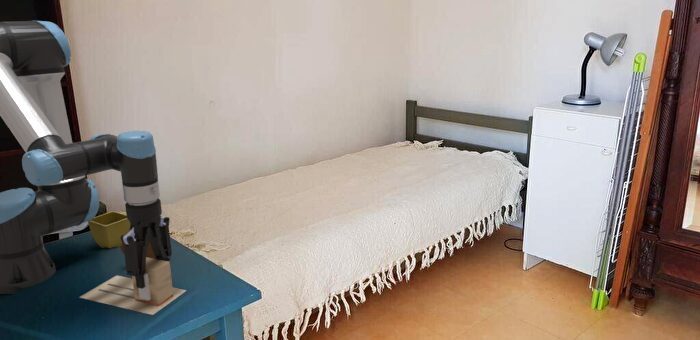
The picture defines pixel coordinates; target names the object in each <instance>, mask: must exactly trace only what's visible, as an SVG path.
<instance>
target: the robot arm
mask: <svg viewBox="0 0 700 340" xmlns="http://www.w3.org/2000/svg"><path fill="white" fill-rule="evenodd" d="M66 36H67V35H65V33H64V32H63V30H62V29H61V27H59V25H58V24H56V23H54V22H51V21H46V20H45V21H42V20H34V19H33V20H25V21H24V20H18V21H17V20H16V21H15V20H14V21H0V117H1V119H2V120H3V122H4V123H5V125H6V126H7V128H9V130H10V131H11V133H12V134H13V136H14V137H15V139H16V140H17V142H18V143H19V145H20V146H21V148H22V149H23V151H24V152H25V153H24V154H23V155H22V159H21V165H22V170H23V172H24V174H25V175H24V176H25V178H26V180H27V181H28V182H29V183H30V184H31V185H33V186H36V187H37V190H36V191H34V190H33V189H32V188H29V187H18V188H12V189H9V190H5V191H1V192H0V295H12V294H15V293H17V292H19V291H21V290H23V289H26V288H30V287H34V286H37V285H38V284H41V283H43V282H45V281H47V280H49V279H50V278H51V277H53V275H54V274H55V273H56V272H57V270H56V269H57V268H56V265H55V262H54V261H53V260H52V258H51V256H50V255H49V253H48V252H47V250H46V248H45V245H44V240H43V239H44V238H43V237H44V236H48V235H51V234H53V233H56V232H57V233H58V232H60V231H62V230H63V231H64V230H66V229H69V228H72V227H78V226H81V225H82V224H85V223H88V221H90V220H92V219H93V218H94V217H97V216H96V215H97V214H98V211H99V207H100V195H99V192H98V188H96V184H95V183H94V182H93V181H92V180H91V179H89V178H86V176H90V175H94V174H99V173H101V172H102V173H103V172H105V171H110V170H111V171H112V170H114V171H117V172H120V176H121V181H122V190H123V192H122V193H123V199H124V202H125V204H124V207H125V215H127V218H128V220H129V221H130V229H129V230H130V231H129V232H128V233H127V234H126V235H122V236H121V237H120V239H121V241H122V243H123V246H124V254H125V255H124V254H123V255H124V263H125V268H126V269H125V270H126V275H127V276H131V277H132V276H135V279H136V286H137V288H138V290H139V298H140V299H144V300H150V299H151V294H150V286H149V278H148V274H147V273H145V267H146V252H147V246H148V245H149V242H150V244H151V247H152V250H153V253H154V256H155V259H158V260H163V261H168V262H170V257H172V255H173V253H172V252H173V251H172V243H171V234H170V217H169V216H161V215H162V214H163V212H162V211H163V210H162V200H161V199H160V197H161V196H160V185H159V174H158V164H157V154H156V153H157V149H156V147H155V142H154V136H153V134H152V133H151V132H150V131H146V130H130V131H129V130H128V131H124V132H121V133H119V134H118V135H114V134H111V133H98V134H96V135H94V136H92V137H91V138H89V139H88V140H83V141H77V142H73V140H72V139H73V137H72V134H71V129H70V124H69V119H68V115H67V109H66V103H65V99H64V94H63V89H62V83H61V80H62V78H63V77H64V76H65V75H66V71H65V67H67V66H68V65H70V63H71V59H72V58H71V57H72V50H71V45H70V42H69V40H68V37H66ZM142 241H144V242H142ZM165 249H166V250H167V251H165Z"/></svg>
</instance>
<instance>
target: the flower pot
mask: <svg viewBox="0 0 700 340" xmlns="http://www.w3.org/2000/svg"><path fill="white" fill-rule="evenodd" d="M87 223H88V226H89V229H90V230H89V231H90V233H91V236H92V238H93V241H95V243H96V244H97V245H98V246H99V247H100V248H107V249H113V248H114V247H115V248H116V247H117V248H121V244H122V241H121V239H120V237H121V236H122V235H126V234H127V233H128V232H129V231H130V230H129V229H130V221H129V220H128V218H127V215H126V213H121V212H118V211H115V210H113V211H112V210H111V211H108V212H106V213H103V214H100V215H98V216H95V217H94V218H93V219H92V220H90V221H88V222H87Z"/></svg>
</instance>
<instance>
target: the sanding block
mask: <svg viewBox="0 0 700 340" xmlns="http://www.w3.org/2000/svg"><path fill="white" fill-rule="evenodd" d="M171 271H172V270H171V263H170V261H169V262H168V261H163V260H158V259H153V258H148V257H146V267H145V273H147V274H148V278H149V286H150V294H151V299H150V300H144V299H140V298H139V290H138V288H137V286H136V279H135V276H131V279H132V280H133V287H134V295H135V301H139V302H143V303H147V304H152V305H156V306H160V305H162V304H163V303H164V302H166V301H167V300H169V299H170V298H171V297H173V288H174V287H173V281H172V272H171ZM172 287H173V288H172Z"/></svg>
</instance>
